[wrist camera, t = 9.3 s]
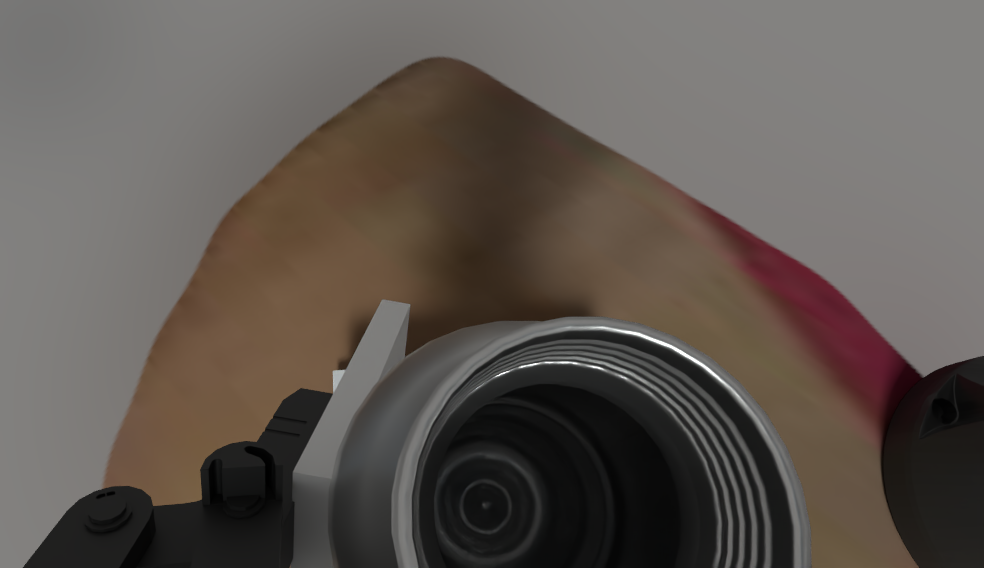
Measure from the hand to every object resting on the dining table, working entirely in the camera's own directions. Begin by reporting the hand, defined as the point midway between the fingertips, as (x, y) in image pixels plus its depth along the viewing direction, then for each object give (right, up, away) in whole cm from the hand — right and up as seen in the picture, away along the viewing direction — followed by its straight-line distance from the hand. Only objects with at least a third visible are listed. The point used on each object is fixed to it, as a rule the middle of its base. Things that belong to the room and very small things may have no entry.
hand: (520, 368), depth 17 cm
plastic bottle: (-1, -6, +7) cm, 10 cm away
